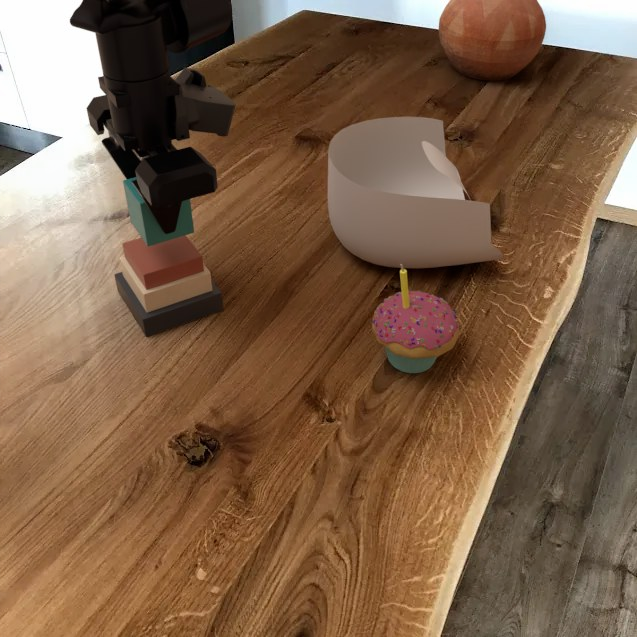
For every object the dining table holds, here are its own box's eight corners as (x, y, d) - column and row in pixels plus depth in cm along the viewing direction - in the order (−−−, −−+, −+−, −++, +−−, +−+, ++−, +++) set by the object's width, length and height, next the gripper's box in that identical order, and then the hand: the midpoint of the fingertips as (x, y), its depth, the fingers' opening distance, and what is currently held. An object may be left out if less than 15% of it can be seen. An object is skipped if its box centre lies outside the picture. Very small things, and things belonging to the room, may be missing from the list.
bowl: (317, 200, 98) (318, 118, 91) (456, 192, 100) (469, 111, 92) (339, 292, 83) (342, 203, 76) (502, 281, 85) (521, 192, 77)
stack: (146, 337, 77) (135, 285, 73) (117, 291, 83) (106, 240, 78) (223, 310, 81) (218, 258, 76) (191, 267, 87) (184, 217, 82)
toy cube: (147, 247, 72) (139, 203, 69) (130, 222, 76) (122, 180, 72) (194, 232, 74) (189, 189, 71) (176, 209, 77) (170, 167, 74)
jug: (423, 79, 129) (436, -42, 116) (446, 45, 142) (460, -69, 129) (528, 96, 125) (554, -30, 112) (542, 58, 137) (567, -58, 124)
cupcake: (379, 390, 72) (388, 295, 64) (362, 333, 78) (368, 240, 70) (463, 381, 73) (482, 286, 65) (439, 325, 79) (454, 233, 71)
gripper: (266, 89, 61) (273, 242, 71) (181, 21, 73) (197, 161, 83) (139, 118, 57) (165, 277, 67) (70, 41, 69) (102, 186, 79)
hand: (160, 219), depth 74 cm, fingers closed on toy cube, 5 cm apart
